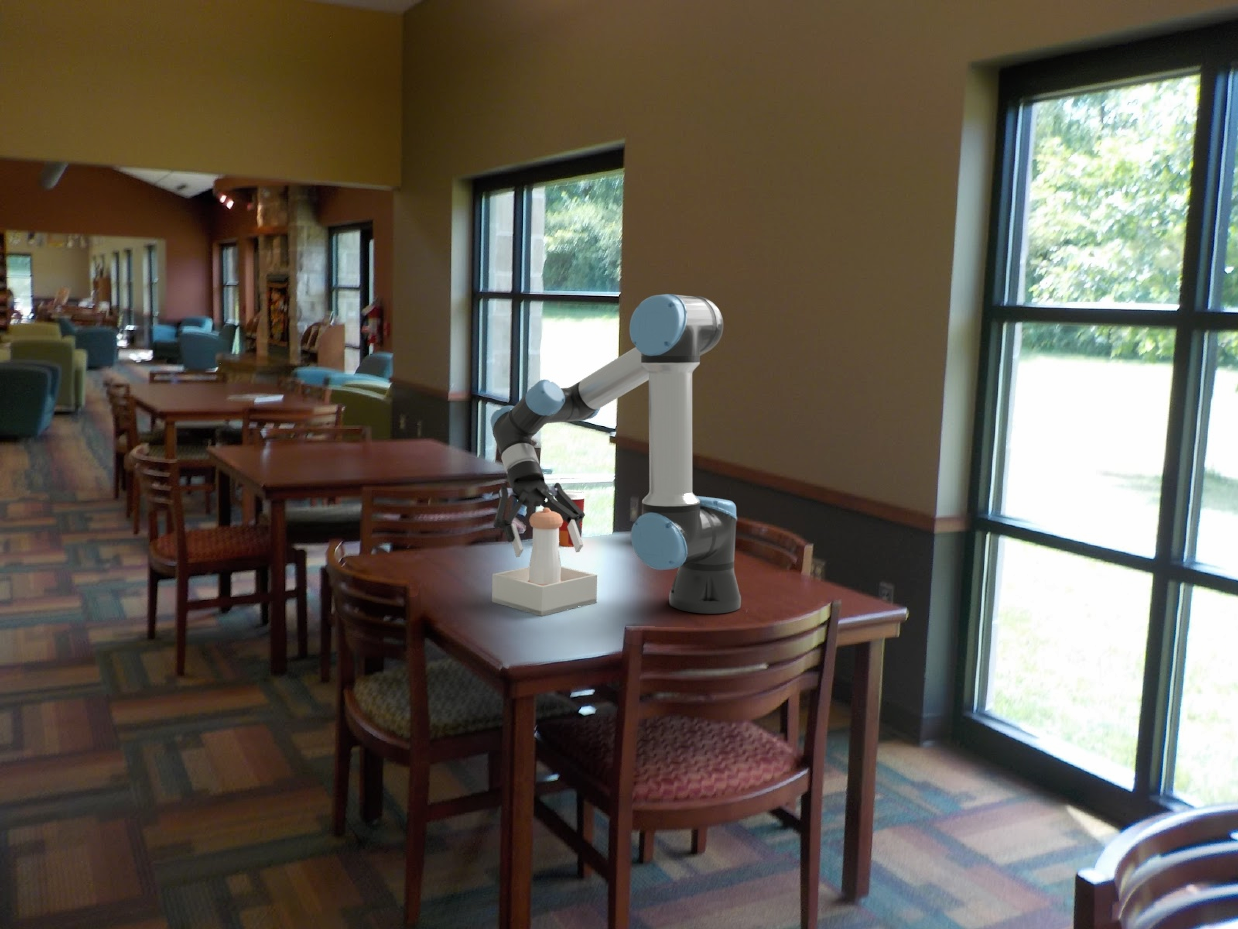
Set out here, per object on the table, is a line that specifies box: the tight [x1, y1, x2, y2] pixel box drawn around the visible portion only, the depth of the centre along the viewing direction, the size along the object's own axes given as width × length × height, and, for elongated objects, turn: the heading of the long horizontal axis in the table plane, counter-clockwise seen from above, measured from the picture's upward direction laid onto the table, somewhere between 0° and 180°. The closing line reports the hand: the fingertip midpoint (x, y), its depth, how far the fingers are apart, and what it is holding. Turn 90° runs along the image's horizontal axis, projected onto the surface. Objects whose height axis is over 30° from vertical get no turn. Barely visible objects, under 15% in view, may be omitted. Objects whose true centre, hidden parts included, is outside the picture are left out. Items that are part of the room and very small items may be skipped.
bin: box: [491, 565, 598, 617], centre depth 238 cm, size 15×16×6 cm
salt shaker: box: [528, 507, 563, 586], centre depth 237 cm, size 7×7×19 cm
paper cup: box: [559, 489, 586, 548], centre depth 297 cm, size 8×8×14 cm
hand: (550, 551), depth 235 cm, fingers open, 13 cm apart
